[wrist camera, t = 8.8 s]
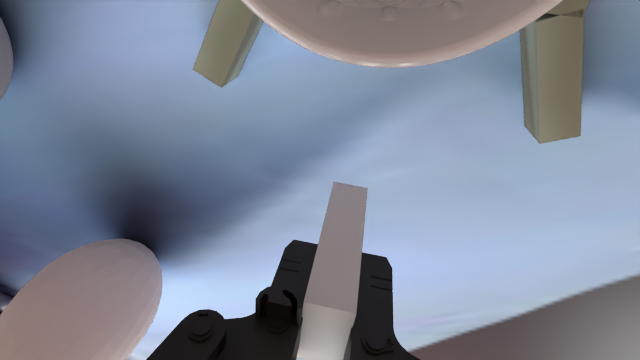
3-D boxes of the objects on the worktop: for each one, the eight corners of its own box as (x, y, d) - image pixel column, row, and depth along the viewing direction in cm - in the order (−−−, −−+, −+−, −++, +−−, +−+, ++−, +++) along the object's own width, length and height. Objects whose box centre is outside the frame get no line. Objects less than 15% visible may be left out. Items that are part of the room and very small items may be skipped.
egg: (201, 286, 27) (92, 467, 17) (123, 285, 29) (-17, 448, 19) (164, 209, 24) (-1, 382, 14) (78, 213, 25) (-123, 368, 15)
